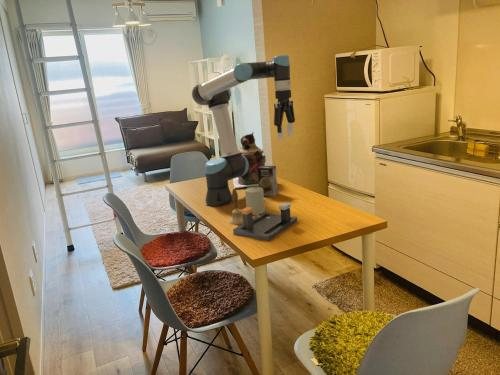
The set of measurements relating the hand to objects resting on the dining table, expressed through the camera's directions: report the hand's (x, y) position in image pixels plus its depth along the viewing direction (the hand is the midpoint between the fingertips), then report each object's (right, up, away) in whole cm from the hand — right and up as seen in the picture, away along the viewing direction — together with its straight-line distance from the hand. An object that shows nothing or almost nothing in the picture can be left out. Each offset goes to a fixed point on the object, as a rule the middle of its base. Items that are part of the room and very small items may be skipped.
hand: (285, 137), depth 194 cm
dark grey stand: (-10, -42, -15) cm, 46 cm away
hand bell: (-23, -41, -5) cm, 47 cm away
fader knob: (-18, -42, -17) cm, 49 cm away
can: (-14, -36, +7) cm, 40 cm away
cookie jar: (-16, -21, +60) cm, 66 cm away
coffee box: (-7, -28, +33) cm, 44 cm away
